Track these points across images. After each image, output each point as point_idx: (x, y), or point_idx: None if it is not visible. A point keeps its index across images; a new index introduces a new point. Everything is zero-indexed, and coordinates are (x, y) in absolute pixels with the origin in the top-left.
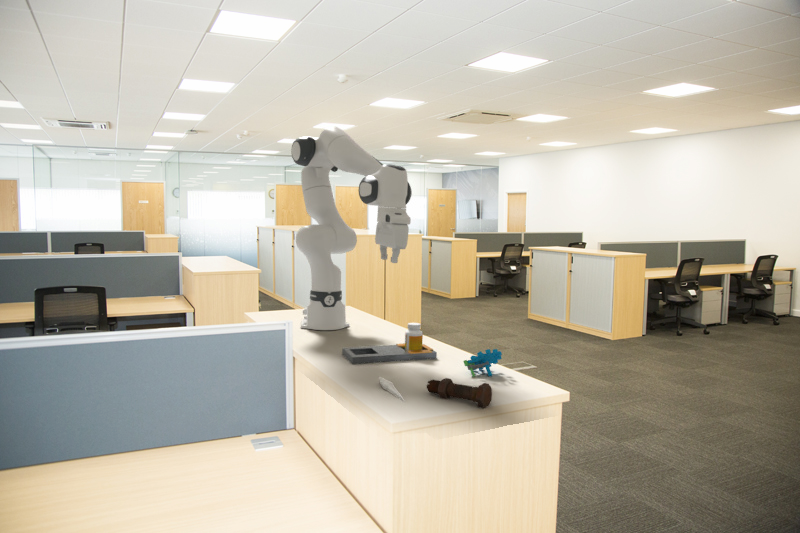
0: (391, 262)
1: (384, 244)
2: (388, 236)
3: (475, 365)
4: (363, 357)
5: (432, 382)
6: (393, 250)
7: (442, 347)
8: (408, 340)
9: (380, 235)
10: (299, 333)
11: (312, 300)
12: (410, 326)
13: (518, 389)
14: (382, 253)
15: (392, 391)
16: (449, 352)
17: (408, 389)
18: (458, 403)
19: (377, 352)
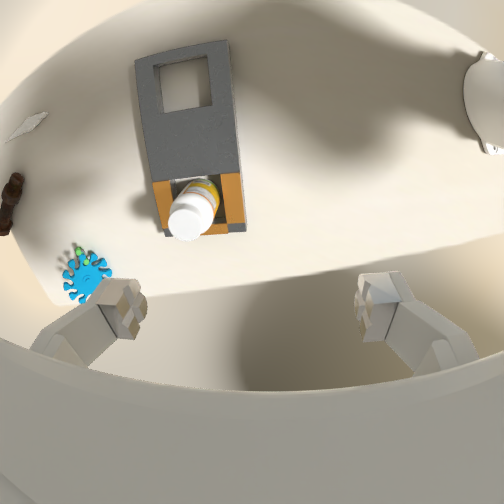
0: (135, 280)
1: (202, 405)
2: (31, 472)
3: (78, 260)
4: (137, 81)
5: (9, 181)
6: (37, 340)
7: (260, 270)
8: (180, 193)
9: (461, 501)
10: (446, 25)
11: None
12: (173, 211)
13: (51, 274)
14: (398, 312)
15: (16, 130)
16: (217, 269)
17: (30, 150)
18: None
19: (168, 113)
